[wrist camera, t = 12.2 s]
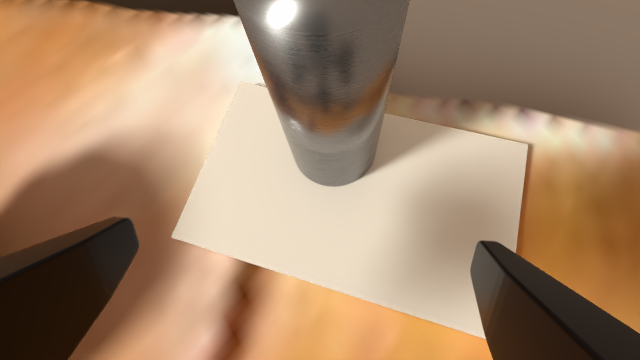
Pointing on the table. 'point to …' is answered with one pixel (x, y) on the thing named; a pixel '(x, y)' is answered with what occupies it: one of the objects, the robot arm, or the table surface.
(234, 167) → the tile
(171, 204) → the table surface
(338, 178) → the tin
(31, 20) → the table surface
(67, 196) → the table surface
